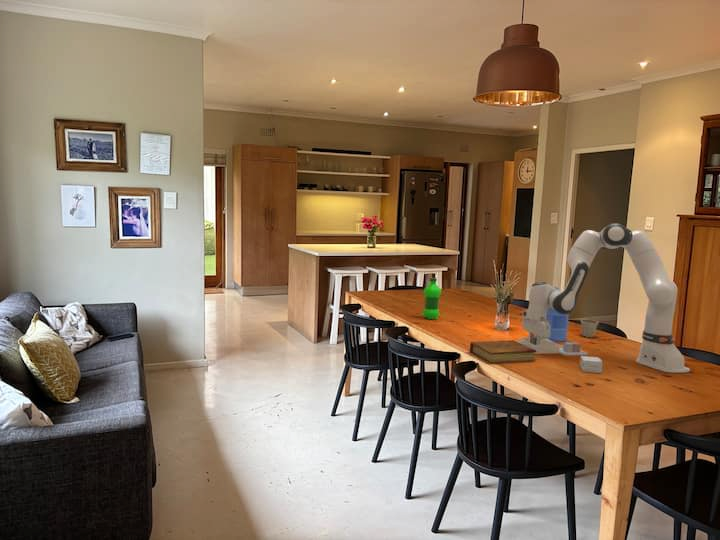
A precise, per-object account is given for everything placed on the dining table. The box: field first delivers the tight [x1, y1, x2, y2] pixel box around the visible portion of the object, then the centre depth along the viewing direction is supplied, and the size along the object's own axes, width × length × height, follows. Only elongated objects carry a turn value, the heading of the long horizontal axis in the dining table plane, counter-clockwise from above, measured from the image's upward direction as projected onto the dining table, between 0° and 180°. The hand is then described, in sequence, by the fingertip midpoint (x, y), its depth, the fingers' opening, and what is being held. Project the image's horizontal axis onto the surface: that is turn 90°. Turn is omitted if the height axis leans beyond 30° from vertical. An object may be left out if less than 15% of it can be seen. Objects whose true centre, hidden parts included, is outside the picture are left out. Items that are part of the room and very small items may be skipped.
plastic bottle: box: [422, 277, 442, 320], centre depth 319 cm, size 10×10×25 cm
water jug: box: [535, 286, 570, 343], centre depth 279 cm, size 16×16×28 cm
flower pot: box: [580, 318, 600, 338], centre depth 291 cm, size 9×9×9 cm
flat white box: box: [517, 337, 561, 355], centre depth 256 cm, size 14×14×4 cm
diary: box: [469, 339, 536, 365], centre depth 243 cm, size 23×19×6 cm
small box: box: [579, 355, 604, 374], centre depth 228 cm, size 8×8×5 cm
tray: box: [558, 345, 590, 357], centre depth 255 cm, size 14×13×1 cm
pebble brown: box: [569, 341, 581, 352], centre depth 256 cm, size 4×3×4 cm
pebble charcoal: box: [529, 335, 537, 345], centre depth 256 cm, size 4×3×4 cm
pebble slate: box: [562, 341, 574, 352], centre depth 255 cm, size 4×3×4 cm
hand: (534, 343), depth 256 cm, fingers closed on pebble charcoal, 3 cm apart
